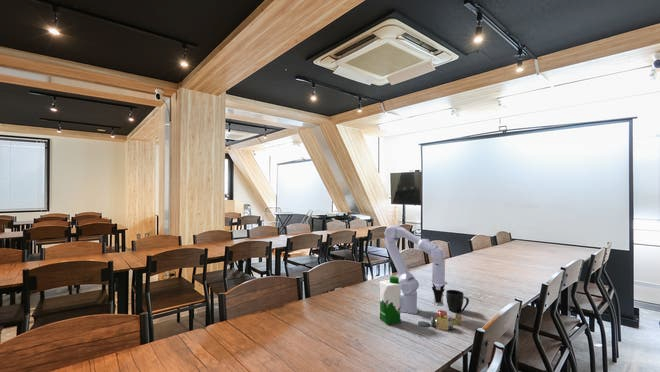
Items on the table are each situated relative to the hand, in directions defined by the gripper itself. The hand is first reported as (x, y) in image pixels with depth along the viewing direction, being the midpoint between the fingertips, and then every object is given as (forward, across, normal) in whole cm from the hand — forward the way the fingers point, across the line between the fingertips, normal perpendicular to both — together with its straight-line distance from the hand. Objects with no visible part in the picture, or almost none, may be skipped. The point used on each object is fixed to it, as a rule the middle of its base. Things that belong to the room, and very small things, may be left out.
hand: (438, 300), depth 143 cm
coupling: (+2, 0, 0) cm, 2 cm away
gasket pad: (+8, -10, +6) cm, 14 cm away
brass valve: (+8, -10, -2) cm, 13 cm away
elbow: (+8, -3, -8) cm, 12 cm away
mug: (+9, +12, -9) cm, 17 cm away
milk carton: (+9, -13, +21) cm, 26 cm away
